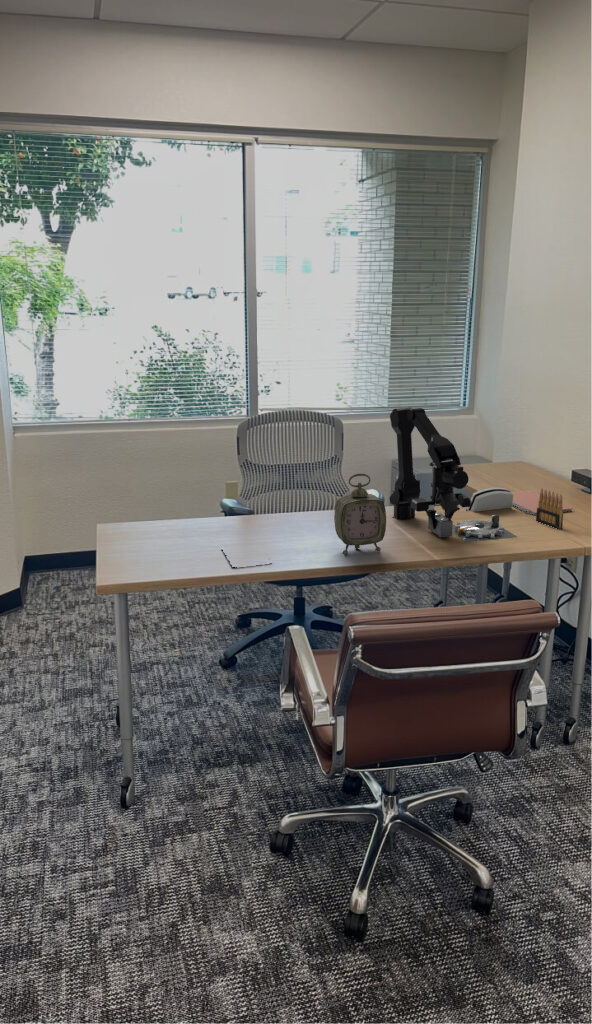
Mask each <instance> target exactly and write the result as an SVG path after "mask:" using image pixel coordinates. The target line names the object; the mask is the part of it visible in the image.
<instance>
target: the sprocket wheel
mask: <svg viewBox="0 0 592 1024" xmlns="http://www.w3.org/2000/svg"><path fill="white" fill-rule="evenodd" d="M454 525H455V530H457V533H458V534H466V536H467V537H470V536H476V537H478V538H482V537H490V538H494V535H500V536H501V535H502V532H504V529H505V526H502V524H501V523H500V514H497V513H495V514H491V520H481V518H479V519H478V518H477V519H476V520H470V519H465V520H464V521H458V522H457V525H456V524H454Z"/></svg>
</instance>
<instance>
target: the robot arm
mask: <svg viewBox="0 0 592 1024" xmlns="http://www.w3.org/2000/svg"><path fill="white" fill-rule="evenodd" d="M389 421H390V424H391V429H393V431H394V433H395V435H396V444H397V447H396V449H397V463H398V476H397V479H396V481H395V483H394V491H393V492H392V493H391V495H389V502H390V503H389V504H390V505H393V516H392V517H391V518H392V519H395V520H397V521H398V520H399V521H409V520H412V519H415V517H416V513H415V512H425V513H426V515H427V517H428V518H429V520H430V523H431V525H432V528H433V529H435V514H436V513H438V511H437V510H436V509H435V507H439V506H440V507H441V509H442V510H443V511H444V516H445V517H447V518H448V519H450V520H451V521H452V518H453V516H454V514H455V513H456V512H457V511H460V510H461V508H466V507H470V506H471V498H470V497H469V496H466V495H465V494H463V493H462V492H459V493H456V492H455V493H454V491H453V488H454V489H458V490H462V489H464V488H465V487H466V486H467V485H468V483H469V479H470V478H469V475H468V473H467V472H466V471H465V470H464V467H463V466H462V464H461V458H460V457H459V455H458V453H457V449H456V446H455V445H454V444H453V443H452V442H451V440H450V439H448V438H446V437H445V436H443V435H441V434H440V432H439V430H437V428H436V427H435V426H434V424H433V423H432V421H431V419H430V418H429V417H428V415H427V414H426V410H425V409H424V408H422V407H416V408H415V407H413V408H412V407H410V406H408V407H400V408H394V409H392V411H391V412H390V413H389ZM415 428H416V429H417V431H418V432H419V434H420V435H421V437H422V439H424V442H425V443H426V445H427V453H428V455H429V457H430V459H431V460H432V461H431V462H430V463H429V466H430V467H432V483H430V487H431V488H432V490H431V495H430V500H426V499H425V498H422V497H421V498H420V495H421V488H420V487H421V486H420V485H421V483H420V480H418V479H416V477H415V476H414V462H413V461H414V459H413V458H414V457H413V442H412V433H413V431H414V429H415ZM459 506H460V507H461V508H460V507H459Z"/></svg>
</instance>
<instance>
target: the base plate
mask: <svg viewBox="0 0 592 1024" xmlns="http://www.w3.org/2000/svg"><path fill="white" fill-rule="evenodd" d="M455 525H457V524H453V528H452V535H455V536H456V537H458V538H459V539H461V540H462V541H464V543H473V542H475V543H476V542H483V541H492V540H501V539H502V540H503V539H510V538H518V536H517V535H516V534H514V533H512V532H510V531H509V530H507V529H505V528H504V532H502V535H501V536H500V535H494V538H490V537H482V538H478V537H476V536H470V537H467V536H466V534H458V533H457V530H455Z"/></svg>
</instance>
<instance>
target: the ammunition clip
mask: <svg viewBox="0 0 592 1024" xmlns="http://www.w3.org/2000/svg"><path fill="white" fill-rule="evenodd" d="M539 494H540V497H539V503H538V507H537V515H535V516H536V517H535V522H536V521H538V522H537V523H539V522H541V523H540V524H542V523H543V524H542V525H544V524H546V525H545V526H547V525H549V526H548V527H550V526H552V527H551V528H553V527H554V528H553V529H555V528H557V529H556V530H562V529H563V527H564V526H563V520H564V514H563V512H562V509H563V506H562V504H563V495H562V493H561V494H559V493H558V492H556V493H555V491H552V492H551V490H549V491H547V489H545V490H544V489H543V488H541V489H540V491H539Z"/></svg>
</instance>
